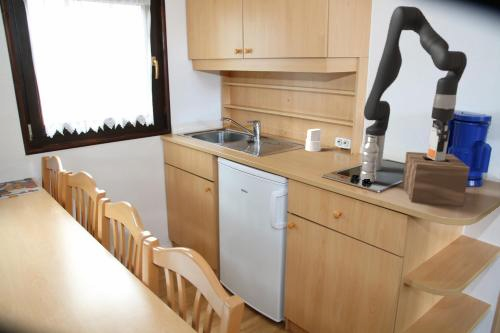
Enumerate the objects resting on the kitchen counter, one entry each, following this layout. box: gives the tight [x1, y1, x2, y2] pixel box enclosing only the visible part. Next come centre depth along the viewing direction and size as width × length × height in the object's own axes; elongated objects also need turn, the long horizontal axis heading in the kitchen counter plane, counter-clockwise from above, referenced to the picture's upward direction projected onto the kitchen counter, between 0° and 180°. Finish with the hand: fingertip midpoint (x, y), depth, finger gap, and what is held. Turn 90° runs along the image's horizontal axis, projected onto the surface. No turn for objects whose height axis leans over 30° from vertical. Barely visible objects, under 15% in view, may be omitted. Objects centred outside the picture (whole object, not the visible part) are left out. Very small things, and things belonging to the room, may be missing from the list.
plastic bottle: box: [360, 137, 379, 183], centre depth 165 cm, size 6×7×20 cm
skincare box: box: [426, 127, 450, 161], centre depth 147 cm, size 6×4×12 cm
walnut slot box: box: [401, 151, 471, 207], centre depth 150 cm, size 20×18×15 cm
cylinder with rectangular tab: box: [305, 128, 322, 152], centre depth 224 cm, size 9×9×12 cm
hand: (437, 149), depth 147 cm, fingers closed on skincare box, 7 cm apart
